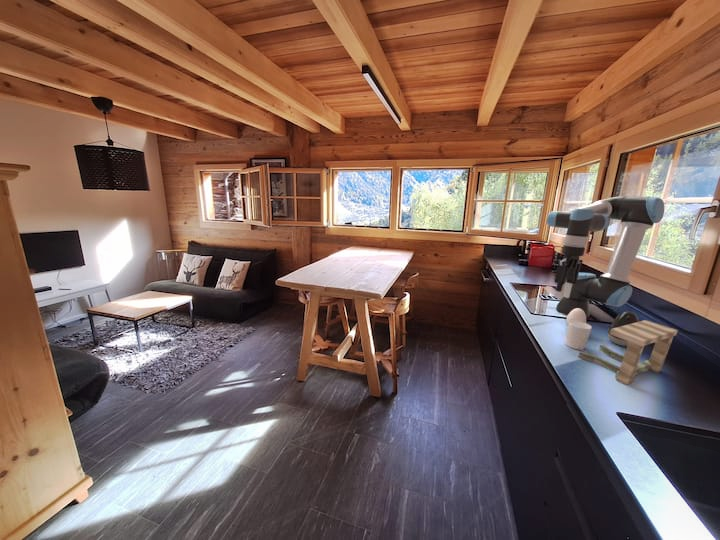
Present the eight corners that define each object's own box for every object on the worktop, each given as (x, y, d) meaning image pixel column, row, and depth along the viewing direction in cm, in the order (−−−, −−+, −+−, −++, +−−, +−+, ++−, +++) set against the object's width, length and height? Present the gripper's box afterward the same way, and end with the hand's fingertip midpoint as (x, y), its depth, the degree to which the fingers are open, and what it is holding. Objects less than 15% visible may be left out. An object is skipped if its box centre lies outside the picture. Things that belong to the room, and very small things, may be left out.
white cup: (565, 339, 128) (570, 318, 125) (587, 346, 122) (593, 325, 120) (561, 345, 122) (566, 323, 120) (584, 352, 117) (590, 330, 114)
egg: (562, 330, 136) (567, 307, 133) (566, 326, 141) (572, 304, 138) (580, 336, 131) (587, 312, 128) (584, 332, 136) (591, 309, 133)
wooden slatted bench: (605, 347, 122) (616, 310, 118) (662, 371, 106) (677, 330, 102) (571, 357, 112) (581, 318, 108) (628, 386, 96) (643, 341, 92)
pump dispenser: (604, 343, 126) (614, 311, 122) (606, 335, 133) (615, 305, 129) (636, 352, 119) (647, 319, 115) (635, 343, 127) (646, 312, 123)
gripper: (577, 243, 127) (565, 292, 133) (552, 244, 120) (540, 296, 126) (596, 246, 120) (582, 298, 126) (571, 247, 113) (557, 302, 119)
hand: (561, 297), depth 126 cm, fingers open, 4 cm apart
